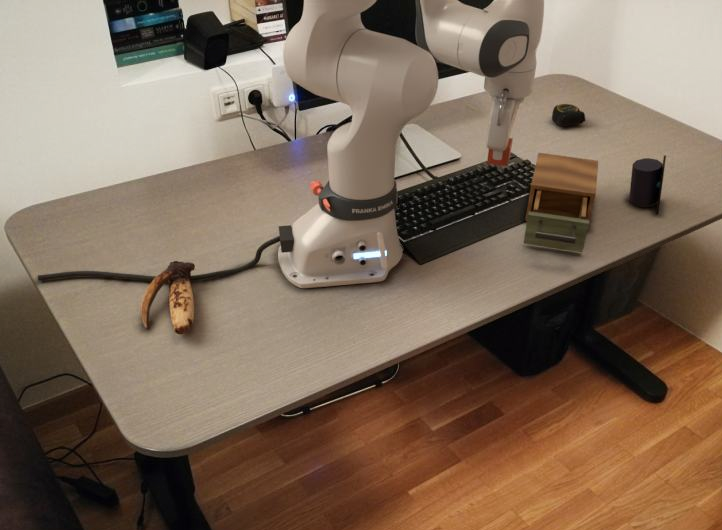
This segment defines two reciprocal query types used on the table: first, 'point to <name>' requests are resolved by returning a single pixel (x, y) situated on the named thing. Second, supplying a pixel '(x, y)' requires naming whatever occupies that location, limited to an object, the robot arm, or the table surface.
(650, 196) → the speaker
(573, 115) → the tape measure
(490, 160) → the block
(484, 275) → the table surface
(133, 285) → the table surface
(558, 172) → the cabinet
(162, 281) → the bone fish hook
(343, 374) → the table surface
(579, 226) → the drawer
